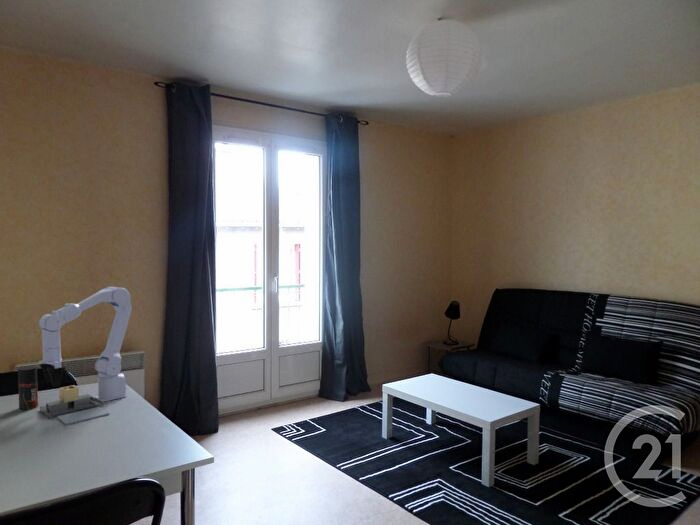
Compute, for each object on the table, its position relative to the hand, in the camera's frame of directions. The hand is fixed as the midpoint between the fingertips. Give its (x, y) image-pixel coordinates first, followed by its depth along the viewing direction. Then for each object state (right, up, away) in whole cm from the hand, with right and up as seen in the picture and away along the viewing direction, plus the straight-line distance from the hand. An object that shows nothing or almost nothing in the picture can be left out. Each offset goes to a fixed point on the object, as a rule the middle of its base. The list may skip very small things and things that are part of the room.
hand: (53, 384), depth 178 cm
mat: (+14, -10, -5) cm, 18 cm away
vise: (+4, -10, +3) cm, 11 cm away
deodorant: (-12, -10, +5) cm, 17 cm away
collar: (+4, -6, +3) cm, 8 cm away
